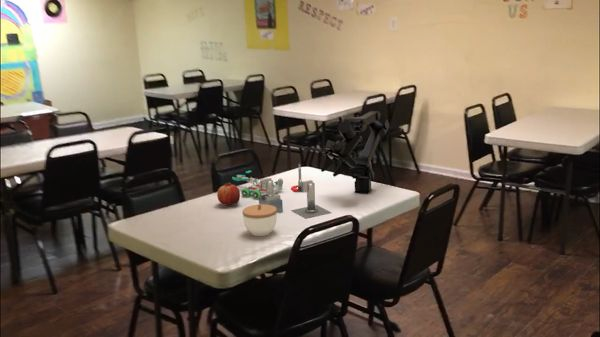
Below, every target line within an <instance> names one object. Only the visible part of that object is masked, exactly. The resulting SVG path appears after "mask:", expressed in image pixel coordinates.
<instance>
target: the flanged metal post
mask: <svg viewBox="0 0 600 337" xmlns="http://www.w3.org/2000/svg"><path fill="white" fill-rule="evenodd" d="M306 186H307V187H306ZM302 191H303V192H302V193H304V192H306V201H307V202H306V203H307V205H306V207H307V208H306V209H305V212H306V213H316V212H318V208H315V205H316V189H315V182H314V181H313V180H312V179H310V180H304V181H302Z"/></svg>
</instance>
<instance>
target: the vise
mask: <svg viewBox="0 0 600 337" xmlns="http://www.w3.org/2000/svg"><path fill="white" fill-rule="evenodd" d="M259 182H260V183H261V189H265V183H266V193H262V194H260V197H259V199H258V204H265V205H272V206H274V207H276V208H277V213H283V212H284V205H283V199H281V195H280V194H279V193H276V192H274V191H275V190H274V186H273V183H274V180H273V179H272V178H271V177H268V178H263V179H262V178H261V179H260V181H259Z"/></svg>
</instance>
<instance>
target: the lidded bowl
mask: <svg viewBox="0 0 600 337" xmlns="http://www.w3.org/2000/svg"><path fill="white" fill-rule="evenodd" d="M241 213H242V218H243V224H244V227H245V228H246V230H247V231H248V232H250V234H251V235H252V236H255V237H264V236H268V235H270V234H271V233H272V231H274V229H275V227H276V225H277V216H278V215H277V208H276V207H274V206H272V205H265V204H259V203H258V204H253V205H250V206H245V207H244V208H243V209H242V212H241Z"/></svg>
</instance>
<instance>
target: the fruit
mask: <svg viewBox="0 0 600 337" xmlns="http://www.w3.org/2000/svg"><path fill="white" fill-rule="evenodd" d="M216 194H217V199H218V200H217V201H218V202H219V203H220V204H222V205H224V206H228V207H229V206H235V205H237V204H238V203H239V201H240V197H241V192H240V189H239V187H238V186H237V185H235V184H234V183H233V184H232V182H231V181H230V182H226V183H224V185H222V186H220V187H219V188H218V189H217V193H216Z"/></svg>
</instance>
